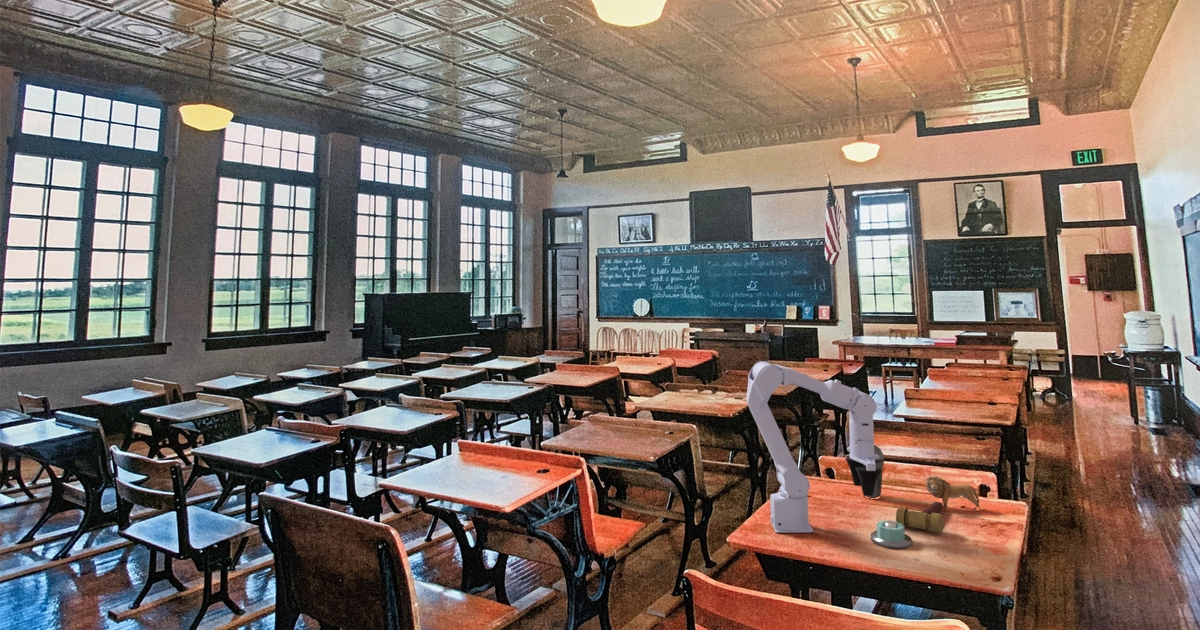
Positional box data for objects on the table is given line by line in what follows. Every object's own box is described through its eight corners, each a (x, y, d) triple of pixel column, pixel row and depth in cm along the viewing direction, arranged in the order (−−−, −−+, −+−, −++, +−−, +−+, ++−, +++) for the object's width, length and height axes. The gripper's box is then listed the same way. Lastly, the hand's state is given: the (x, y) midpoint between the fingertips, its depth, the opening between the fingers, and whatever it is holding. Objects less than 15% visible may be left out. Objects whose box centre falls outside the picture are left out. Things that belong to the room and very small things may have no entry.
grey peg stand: (878, 549, 142) (877, 530, 142) (865, 533, 151) (864, 516, 150) (918, 549, 141) (917, 530, 141) (902, 533, 150) (902, 515, 150)
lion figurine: (931, 511, 162) (930, 478, 162) (922, 505, 167) (921, 473, 167) (988, 511, 161) (987, 478, 161) (977, 505, 166) (976, 473, 166)
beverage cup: (889, 496, 176) (887, 428, 175) (880, 503, 171) (878, 433, 170) (863, 491, 181) (861, 425, 180) (854, 498, 176) (852, 430, 175)
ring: (882, 542, 143) (882, 529, 143) (874, 532, 149) (874, 520, 149) (907, 541, 143) (907, 529, 142) (898, 532, 148) (897, 520, 148)
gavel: (920, 493, 168) (961, 498, 161) (921, 509, 168) (962, 515, 161) (894, 509, 153) (938, 516, 146) (896, 527, 153) (939, 535, 146)
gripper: (887, 445, 147) (889, 499, 148) (868, 431, 162) (870, 481, 162) (858, 445, 148) (859, 499, 149) (841, 431, 162) (843, 481, 163)
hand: (863, 490), depth 155 cm, fingers open, 7 cm apart
